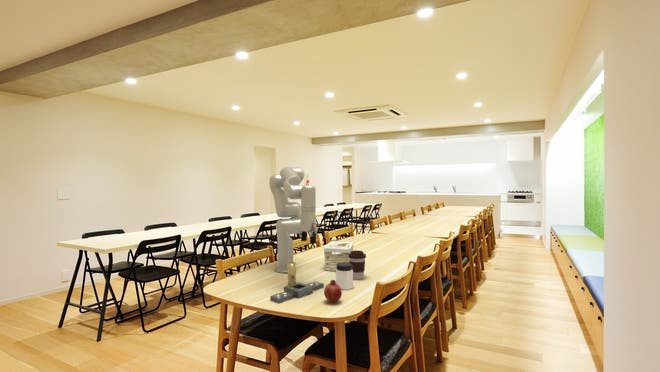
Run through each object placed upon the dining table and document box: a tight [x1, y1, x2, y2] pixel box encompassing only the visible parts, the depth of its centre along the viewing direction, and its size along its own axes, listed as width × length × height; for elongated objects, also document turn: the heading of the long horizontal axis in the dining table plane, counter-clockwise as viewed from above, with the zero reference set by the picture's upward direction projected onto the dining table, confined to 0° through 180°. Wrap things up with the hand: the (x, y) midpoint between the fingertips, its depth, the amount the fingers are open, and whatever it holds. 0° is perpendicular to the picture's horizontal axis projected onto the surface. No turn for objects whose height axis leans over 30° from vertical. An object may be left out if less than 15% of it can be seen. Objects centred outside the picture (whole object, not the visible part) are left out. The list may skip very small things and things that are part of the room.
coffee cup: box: [348, 250, 367, 281], centre depth 191 cm, size 10×10×15 cm
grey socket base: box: [269, 281, 325, 304], centre depth 165 cm, size 10×30×3 cm, turn 140°
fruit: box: [323, 279, 343, 303], centre depth 153 cm, size 8×8×10 cm
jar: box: [335, 262, 354, 291], centre depth 174 cm, size 9×8×12 cm
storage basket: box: [323, 240, 354, 272], centre depth 216 cm, size 24×16×15 cm
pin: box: [287, 261, 297, 286], centre depth 177 cm, size 4×4×12 cm
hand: (308, 242), depth 177 cm, fingers open, 9 cm apart
